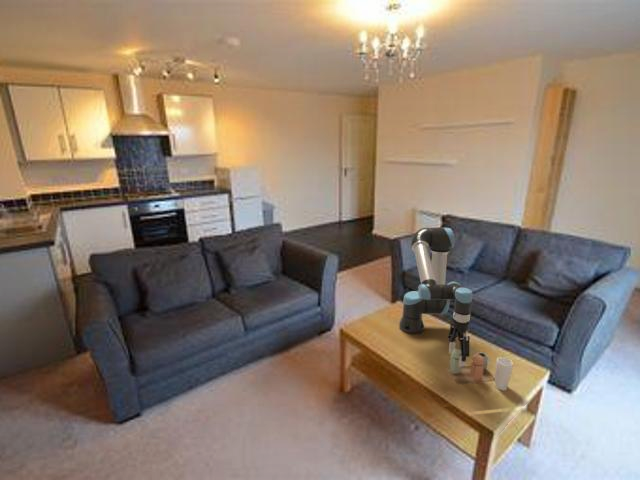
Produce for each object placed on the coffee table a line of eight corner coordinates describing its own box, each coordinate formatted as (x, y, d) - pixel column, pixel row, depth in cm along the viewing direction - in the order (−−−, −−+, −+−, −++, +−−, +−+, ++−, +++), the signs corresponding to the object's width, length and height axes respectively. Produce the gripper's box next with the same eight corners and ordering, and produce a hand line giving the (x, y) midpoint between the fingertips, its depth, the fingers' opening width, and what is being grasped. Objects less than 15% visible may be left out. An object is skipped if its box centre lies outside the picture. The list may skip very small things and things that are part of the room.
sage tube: (449, 368, 172) (450, 355, 169) (456, 368, 172) (458, 354, 170) (453, 373, 168) (454, 360, 166) (460, 373, 168) (462, 359, 166)
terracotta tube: (469, 375, 167) (471, 361, 164) (477, 374, 167) (479, 360, 165) (474, 380, 163) (476, 366, 161) (481, 379, 163) (483, 365, 161)
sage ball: (449, 355, 170) (450, 346, 169) (458, 354, 171) (459, 346, 169) (454, 361, 165) (455, 352, 164) (463, 360, 166) (465, 352, 164)
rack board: (445, 369, 173) (445, 367, 172) (482, 366, 175) (482, 364, 175) (457, 386, 161) (458, 384, 161) (496, 382, 163) (497, 380, 163)
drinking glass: (489, 383, 162) (493, 357, 158) (503, 382, 163) (507, 356, 159) (497, 394, 156) (502, 366, 152) (511, 392, 156) (516, 365, 152)
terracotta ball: (469, 361, 165) (471, 352, 164) (479, 360, 166) (480, 352, 164) (475, 368, 160) (476, 359, 159) (485, 367, 161) (486, 358, 159)
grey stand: (474, 366, 173) (476, 352, 171) (481, 365, 174) (483, 352, 171) (478, 371, 169) (480, 357, 167) (486, 370, 170) (488, 357, 168)
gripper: (442, 309, 172) (439, 347, 178) (465, 332, 151) (460, 374, 157) (456, 308, 173) (452, 345, 179) (481, 331, 152) (475, 373, 158)
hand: (456, 359), depth 168 cm, fingers open, 9 cm apart
